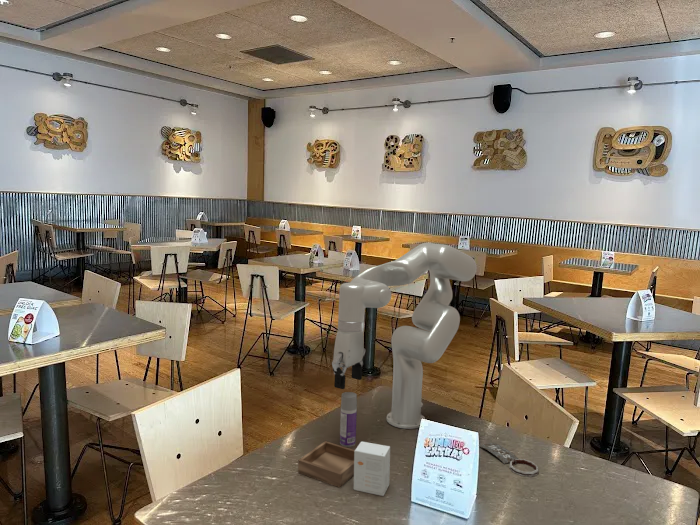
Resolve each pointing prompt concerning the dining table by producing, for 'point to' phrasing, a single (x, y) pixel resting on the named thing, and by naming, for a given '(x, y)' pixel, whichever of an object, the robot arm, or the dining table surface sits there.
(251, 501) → the dining table surface
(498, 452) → the keychain
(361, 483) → the small box
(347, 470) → the tray
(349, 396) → the container
